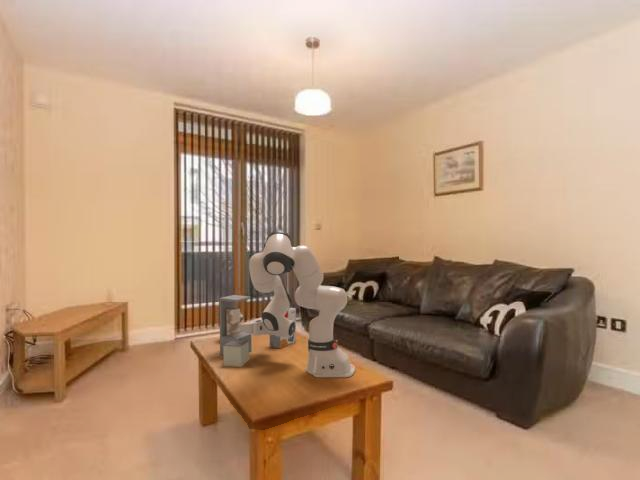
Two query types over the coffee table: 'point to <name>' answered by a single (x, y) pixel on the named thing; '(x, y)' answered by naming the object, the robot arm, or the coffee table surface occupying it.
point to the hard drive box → (284, 341)
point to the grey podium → (223, 305)
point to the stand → (236, 353)
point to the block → (233, 321)
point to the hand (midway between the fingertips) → (245, 322)
